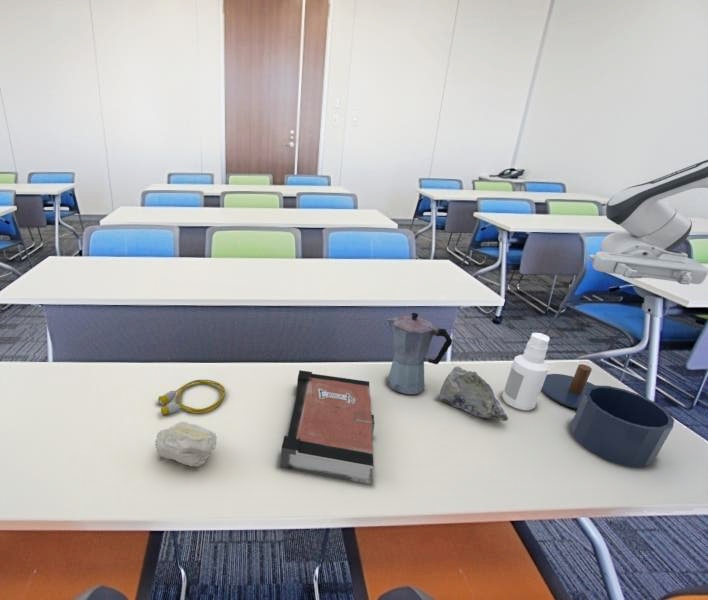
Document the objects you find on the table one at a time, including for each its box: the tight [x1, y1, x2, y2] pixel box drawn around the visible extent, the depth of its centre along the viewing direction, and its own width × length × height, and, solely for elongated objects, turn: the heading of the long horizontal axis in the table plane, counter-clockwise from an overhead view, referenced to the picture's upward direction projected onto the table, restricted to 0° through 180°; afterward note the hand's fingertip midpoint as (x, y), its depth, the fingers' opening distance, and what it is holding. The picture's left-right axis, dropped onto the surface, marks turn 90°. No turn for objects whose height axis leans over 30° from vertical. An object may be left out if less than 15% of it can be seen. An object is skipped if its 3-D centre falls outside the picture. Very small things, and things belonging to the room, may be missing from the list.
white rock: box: [154, 421, 217, 467], centre depth 77 cm, size 12×8×10 cm
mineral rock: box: [438, 365, 509, 422], centre depth 90 cm, size 13×11×10 cm
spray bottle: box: [501, 332, 551, 411], centre depth 92 cm, size 7×7×18 cm
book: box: [280, 369, 375, 485], centre depth 85 cm, size 26×18×5 cm
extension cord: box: [157, 379, 226, 416], centre depth 95 cm, size 12×16×2 cm
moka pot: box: [386, 312, 453, 395], centre depth 97 cm, size 10×15×20 cm, turn 55°
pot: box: [569, 384, 675, 468], centre depth 82 cm, size 14×14×10 cm
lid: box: [541, 363, 596, 410], centre depth 97 cm, size 15×15×8 cm
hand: (658, 277), depth 89 cm, fingers open, 8 cm apart
